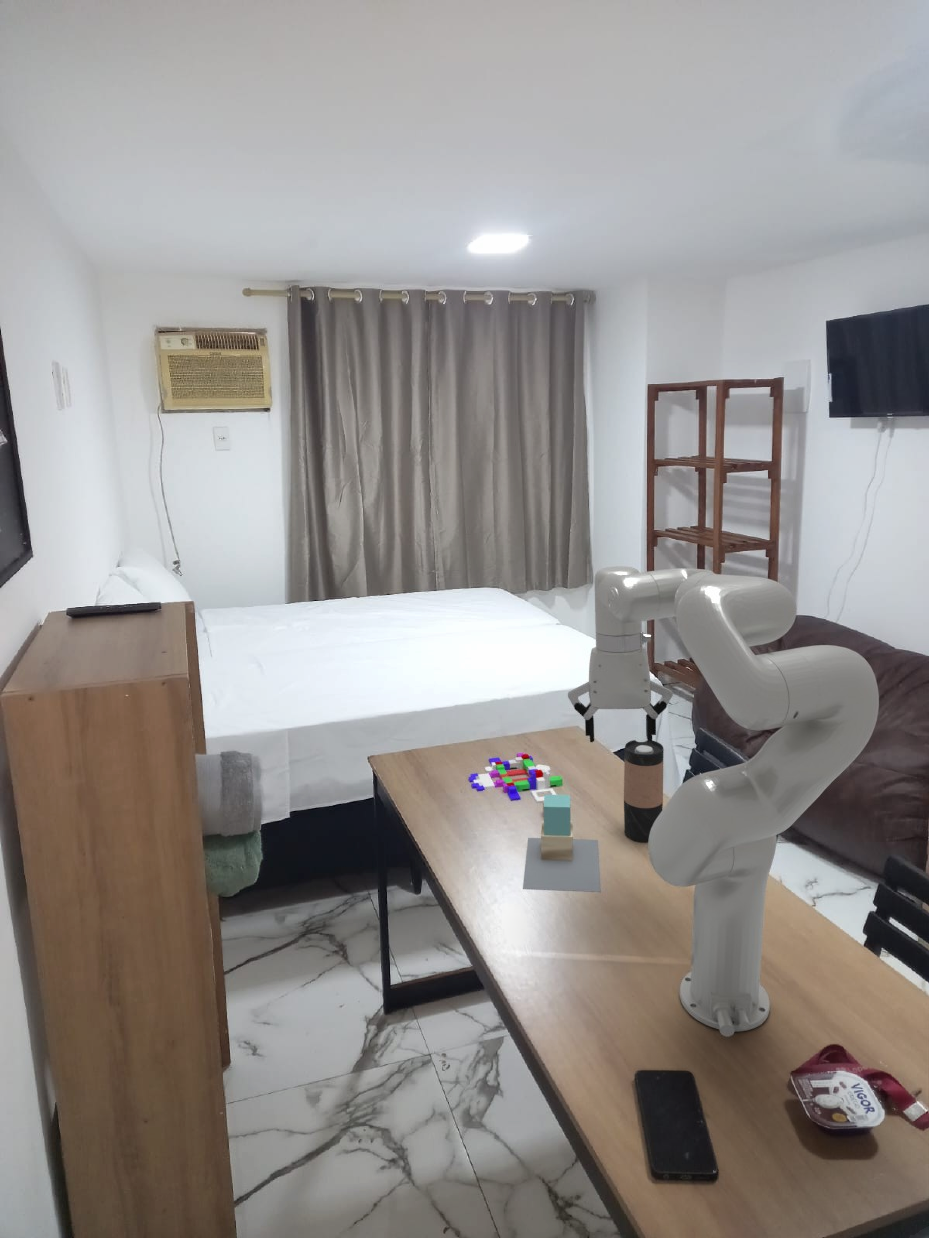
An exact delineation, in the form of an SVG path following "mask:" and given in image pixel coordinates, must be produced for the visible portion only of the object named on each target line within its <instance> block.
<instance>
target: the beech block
mask: <svg viewBox="0 0 929 1238" xmlns="http://www.w3.org/2000/svg"><path fill="white" fill-rule="evenodd" d="M573 823H574V822H573V821H571V832H570V836H556V835H544V820H541V833H540V838H541V860H568V861H573V839H574V834H573V833H574V832H573V831H574V829H573Z"/></svg>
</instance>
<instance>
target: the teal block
mask: <svg viewBox="0 0 929 1238" xmlns="http://www.w3.org/2000/svg"><path fill="white" fill-rule="evenodd" d="M543 797H544V814H543V821H544V835H556V836H570V832H571V822H572V820H571V818H572V817H571V795H570V794H557V795H551V794H544V796H543Z"/></svg>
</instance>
